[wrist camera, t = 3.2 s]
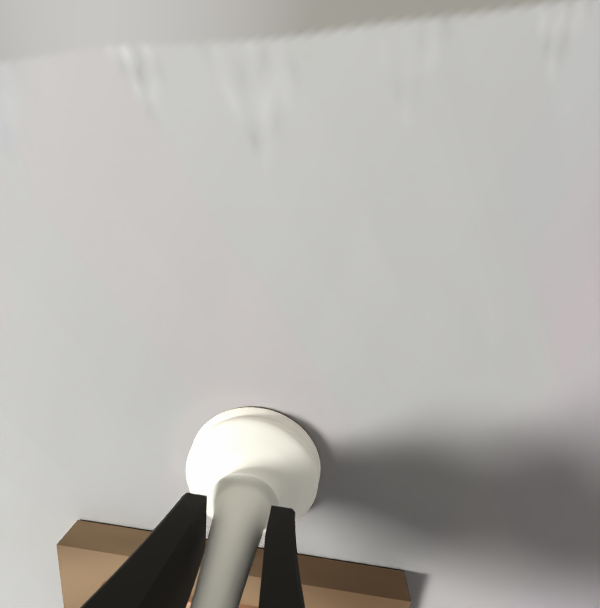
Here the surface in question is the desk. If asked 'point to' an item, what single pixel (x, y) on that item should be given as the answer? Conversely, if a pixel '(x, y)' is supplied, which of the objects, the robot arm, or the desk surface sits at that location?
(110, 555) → the walnut board
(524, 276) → the desk surface
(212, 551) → the chess piece
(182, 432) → the desk surface
